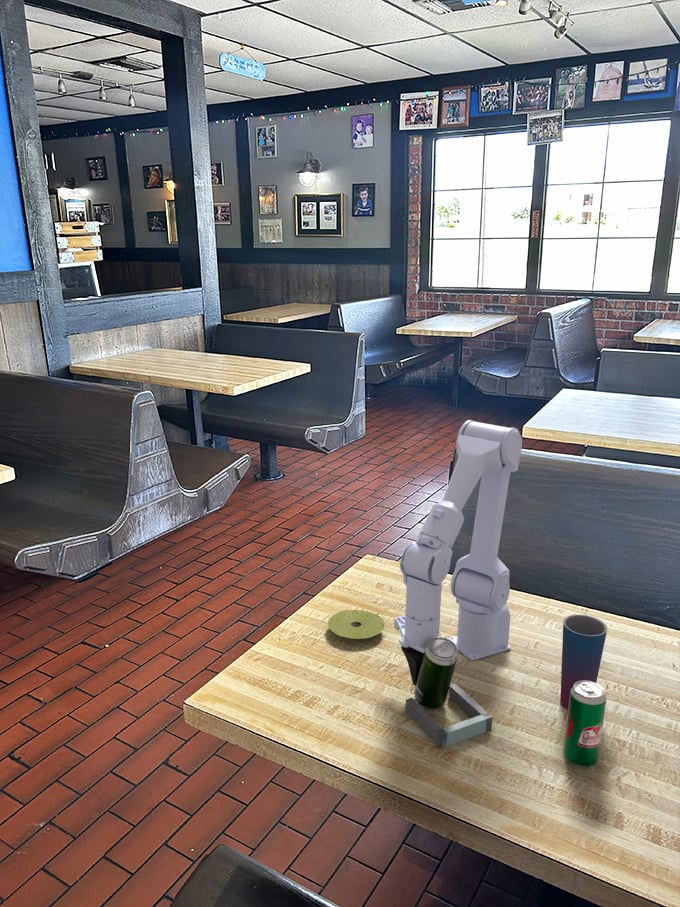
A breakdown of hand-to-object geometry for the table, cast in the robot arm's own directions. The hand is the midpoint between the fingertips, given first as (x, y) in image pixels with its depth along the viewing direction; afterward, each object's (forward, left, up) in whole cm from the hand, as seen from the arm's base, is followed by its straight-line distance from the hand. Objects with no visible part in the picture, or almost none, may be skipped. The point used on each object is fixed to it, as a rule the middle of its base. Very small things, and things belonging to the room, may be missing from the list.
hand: (419, 683), depth 122 cm
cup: (-22, +14, -2) cm, 26 cm away
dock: (0, +8, -2) cm, 9 cm away
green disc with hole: (0, -23, -2) cm, 23 cm away
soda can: (-13, +24, -2) cm, 28 cm away
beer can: (0, +3, -1) cm, 3 cm away
